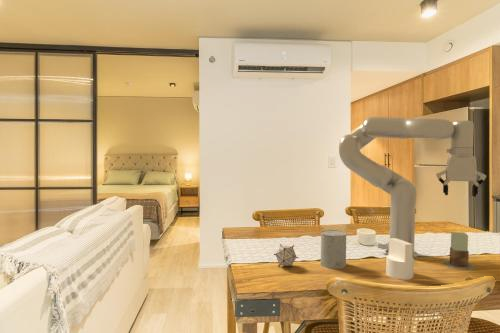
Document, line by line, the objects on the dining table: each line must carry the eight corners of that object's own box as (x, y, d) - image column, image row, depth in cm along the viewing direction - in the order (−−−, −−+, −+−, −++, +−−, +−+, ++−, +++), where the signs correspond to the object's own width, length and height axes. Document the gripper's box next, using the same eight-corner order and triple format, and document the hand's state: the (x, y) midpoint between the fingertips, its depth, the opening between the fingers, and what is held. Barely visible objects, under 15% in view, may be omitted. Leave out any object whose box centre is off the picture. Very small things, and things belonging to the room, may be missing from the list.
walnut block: (453, 266, 134) (453, 250, 134) (449, 262, 139) (450, 247, 139) (468, 267, 133) (468, 251, 132) (464, 263, 138) (464, 248, 137)
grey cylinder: (318, 267, 134) (318, 234, 133) (322, 259, 143) (322, 229, 142) (344, 270, 130) (345, 236, 130) (347, 262, 139) (347, 231, 139)
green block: (454, 250, 134) (454, 234, 134) (450, 247, 138) (451, 231, 138) (467, 251, 133) (468, 235, 132) (463, 248, 137) (464, 232, 137)
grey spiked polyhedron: (289, 275, 136) (305, 253, 136) (285, 274, 128) (301, 251, 129) (271, 260, 140) (286, 239, 140) (266, 258, 132) (282, 236, 133)
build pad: (448, 268, 133) (448, 267, 133) (442, 261, 141) (442, 260, 141) (476, 270, 130) (476, 269, 130) (468, 263, 139) (468, 262, 139)
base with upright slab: (419, 278, 123) (420, 243, 122) (397, 280, 120) (398, 245, 120) (401, 269, 131) (402, 237, 131) (380, 272, 129) (381, 239, 128)
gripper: (438, 152, 140) (437, 195, 141) (489, 152, 134) (488, 197, 135) (435, 152, 147) (434, 193, 148) (484, 152, 141) (482, 195, 142)
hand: (459, 195), depth 142 cm, fingers open, 9 cm apart
